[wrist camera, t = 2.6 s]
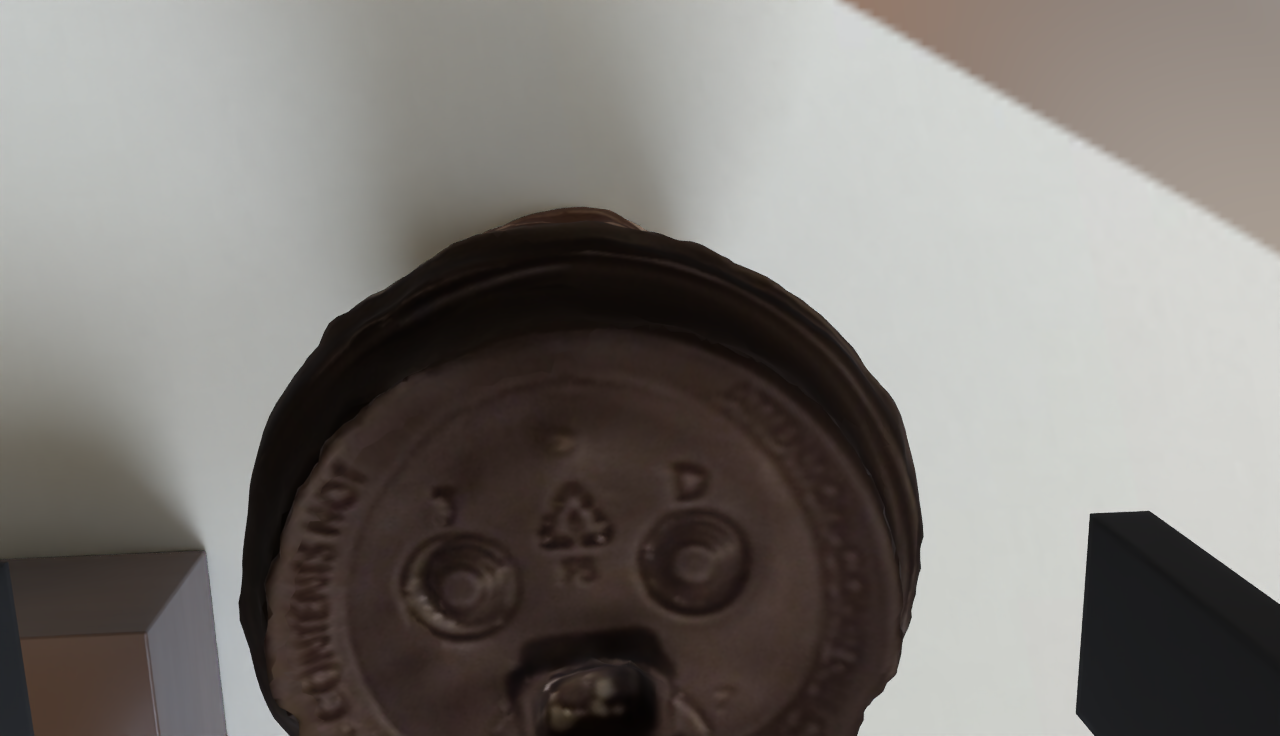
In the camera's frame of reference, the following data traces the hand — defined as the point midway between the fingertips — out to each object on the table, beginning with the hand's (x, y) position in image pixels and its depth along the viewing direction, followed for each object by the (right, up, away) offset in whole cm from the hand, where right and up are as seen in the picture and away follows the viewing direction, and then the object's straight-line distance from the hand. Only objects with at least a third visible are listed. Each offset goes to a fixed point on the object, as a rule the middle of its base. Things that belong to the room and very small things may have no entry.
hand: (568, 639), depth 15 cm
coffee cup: (-1, +4, +11) cm, 12 cm away
